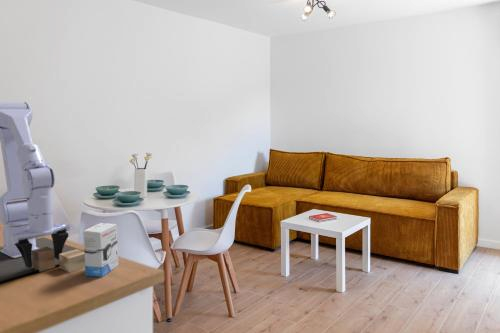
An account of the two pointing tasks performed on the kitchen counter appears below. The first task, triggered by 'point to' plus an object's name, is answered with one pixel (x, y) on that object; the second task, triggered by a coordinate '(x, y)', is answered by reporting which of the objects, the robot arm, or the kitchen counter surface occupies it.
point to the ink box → (100, 249)
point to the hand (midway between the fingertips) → (43, 262)
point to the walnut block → (43, 258)
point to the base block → (72, 260)
